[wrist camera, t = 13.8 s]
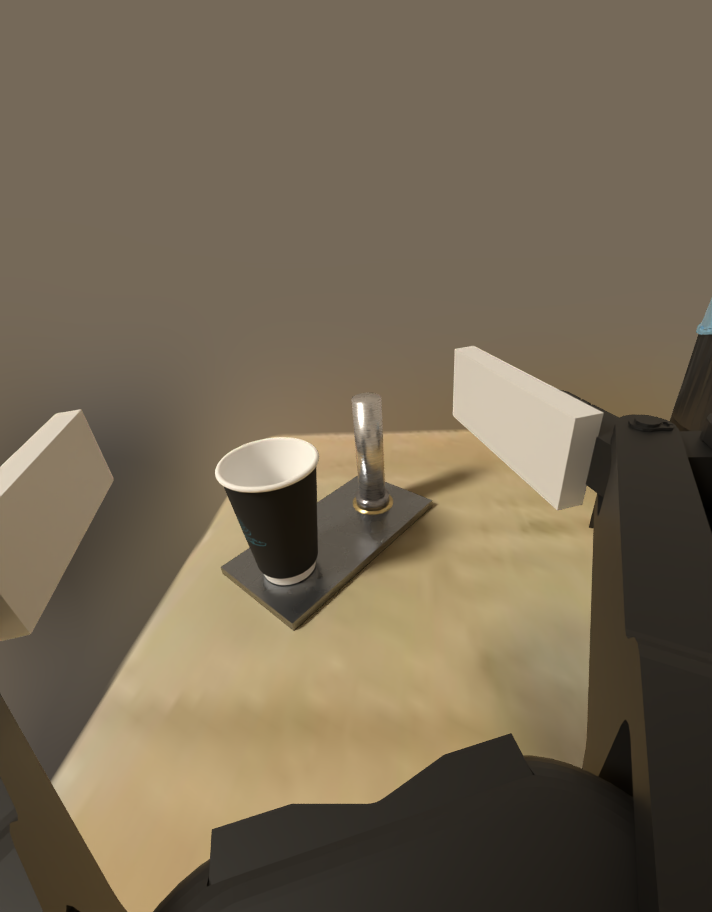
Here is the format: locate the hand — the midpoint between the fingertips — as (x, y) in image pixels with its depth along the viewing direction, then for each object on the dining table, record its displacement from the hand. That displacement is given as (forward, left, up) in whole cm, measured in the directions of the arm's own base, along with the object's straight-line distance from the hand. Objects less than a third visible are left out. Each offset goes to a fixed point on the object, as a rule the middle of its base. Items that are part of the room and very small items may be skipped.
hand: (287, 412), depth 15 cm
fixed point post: (-19, -13, -21) cm, 31 cm away
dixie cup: (-7, -13, -21) cm, 25 cm away
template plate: (-13, -13, -21) cm, 28 cm away
